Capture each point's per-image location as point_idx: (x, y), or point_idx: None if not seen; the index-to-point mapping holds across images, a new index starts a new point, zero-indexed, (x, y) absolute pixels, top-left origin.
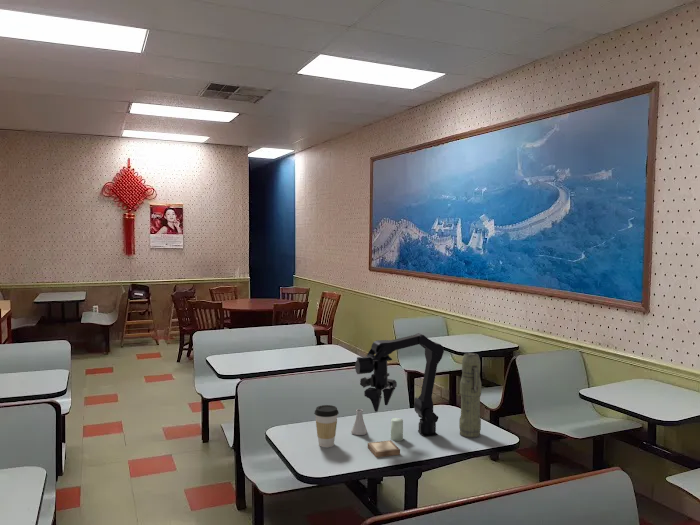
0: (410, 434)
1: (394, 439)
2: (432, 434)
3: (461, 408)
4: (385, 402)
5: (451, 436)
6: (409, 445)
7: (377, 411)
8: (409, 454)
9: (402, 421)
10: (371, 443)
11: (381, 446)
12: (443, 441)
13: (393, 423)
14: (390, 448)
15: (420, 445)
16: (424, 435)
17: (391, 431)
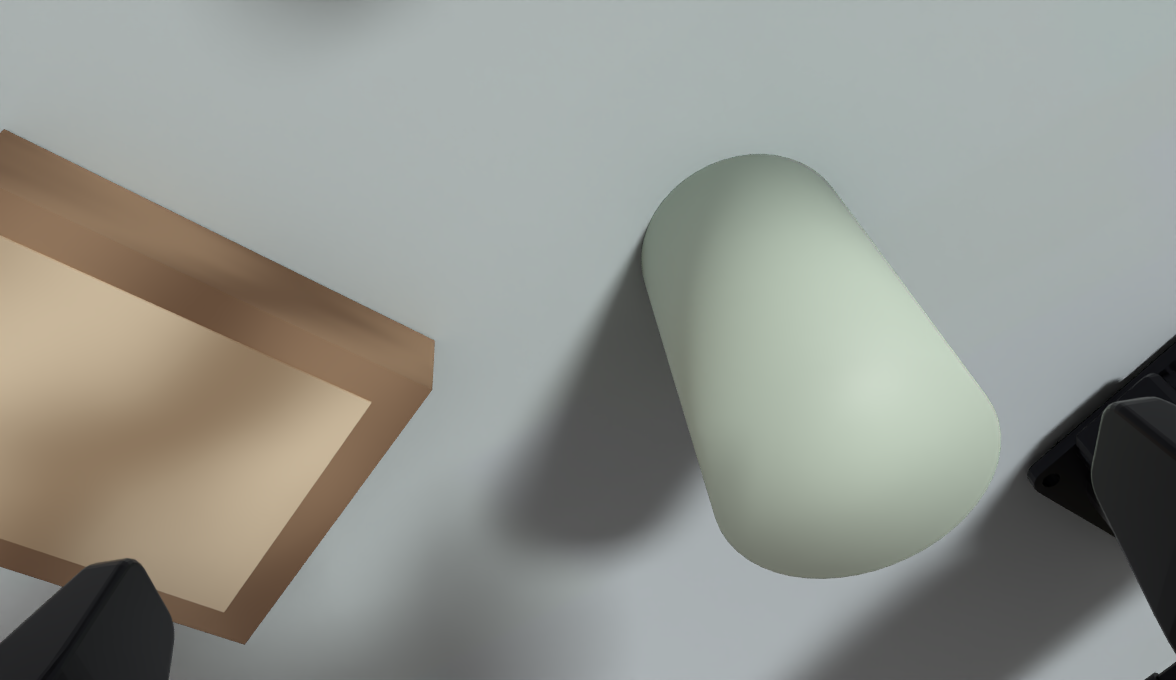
0: (1036, 298)
1: (645, 284)
2: (1113, 532)
3: None
4: (1170, 511)
5: (1167, 643)
6: (616, 505)
7: (164, 636)
8: (358, 641)
9: (852, 566)
10: (10, 248)
11: (83, 439)
12: (970, 663)
13: (701, 452)
14: (151, 560)
15: (704, 582)
16: (1035, 486)
17: (687, 280)
